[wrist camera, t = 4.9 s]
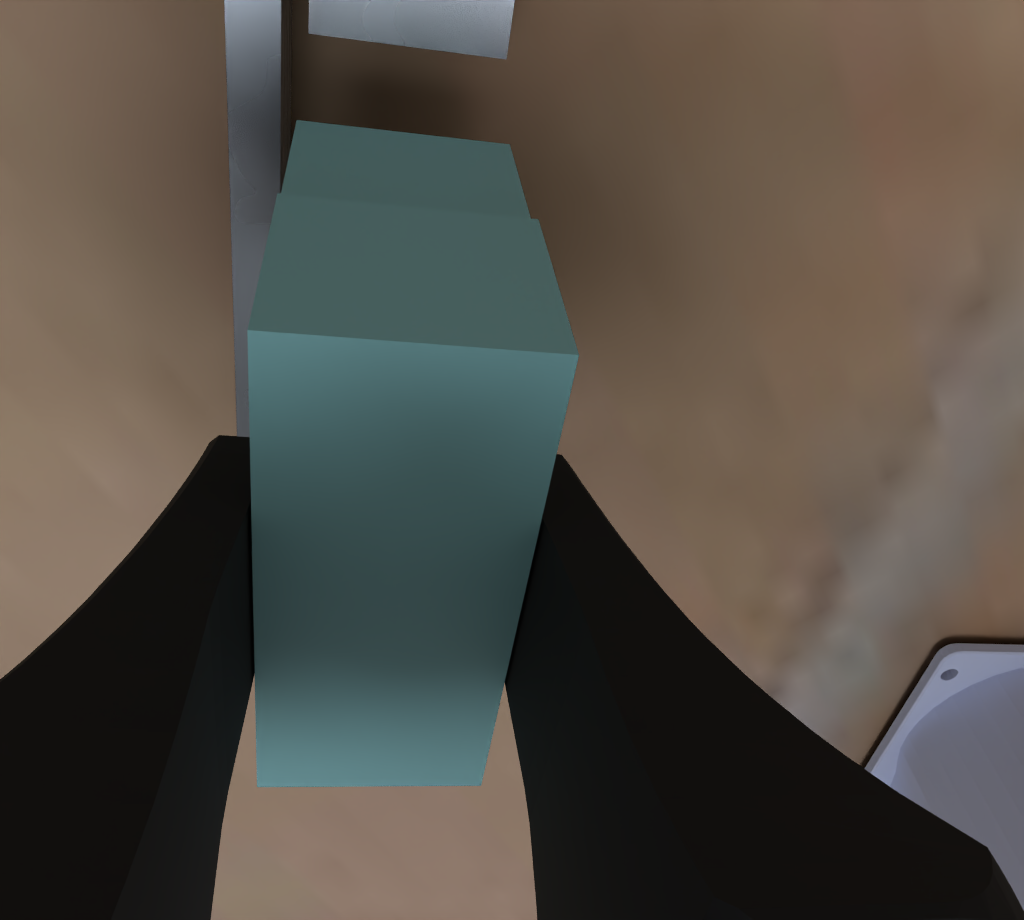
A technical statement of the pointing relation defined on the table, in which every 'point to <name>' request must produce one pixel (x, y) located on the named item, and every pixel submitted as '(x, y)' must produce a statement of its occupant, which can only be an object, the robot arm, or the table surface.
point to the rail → (267, 107)
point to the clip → (396, 453)
